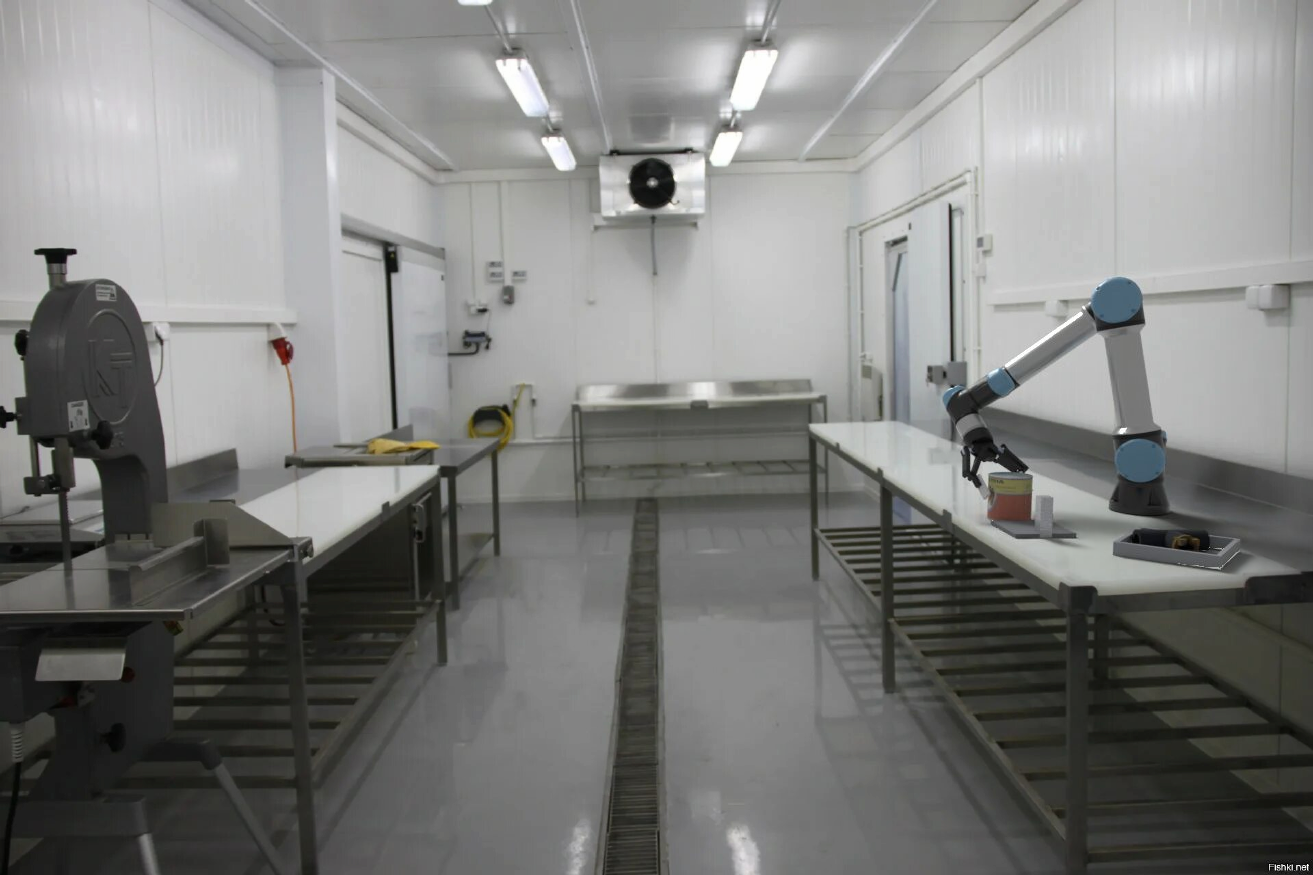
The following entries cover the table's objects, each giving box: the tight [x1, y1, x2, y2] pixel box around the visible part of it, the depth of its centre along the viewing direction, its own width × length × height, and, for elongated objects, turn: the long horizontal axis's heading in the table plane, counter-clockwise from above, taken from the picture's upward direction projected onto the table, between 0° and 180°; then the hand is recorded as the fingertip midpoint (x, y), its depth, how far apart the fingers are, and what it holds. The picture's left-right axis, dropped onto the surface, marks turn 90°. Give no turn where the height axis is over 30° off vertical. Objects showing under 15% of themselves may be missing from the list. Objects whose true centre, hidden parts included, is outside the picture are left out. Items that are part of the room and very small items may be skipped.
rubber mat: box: [990, 519, 1077, 539], centre depth 230 cm, size 16×15×1 cm
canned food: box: [986, 471, 1034, 521], centre depth 244 cm, size 11×11×12 cm
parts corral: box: [1112, 526, 1241, 568], centre depth 205 cm, size 21×21×3 cm
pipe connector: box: [1132, 528, 1210, 552], centre depth 205 cm, size 12×5×15 cm
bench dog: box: [1034, 494, 1054, 539], centre depth 223 cm, size 3×3×10 cm
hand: (1008, 495), depth 244 cm, fingers open, 13 cm apart
